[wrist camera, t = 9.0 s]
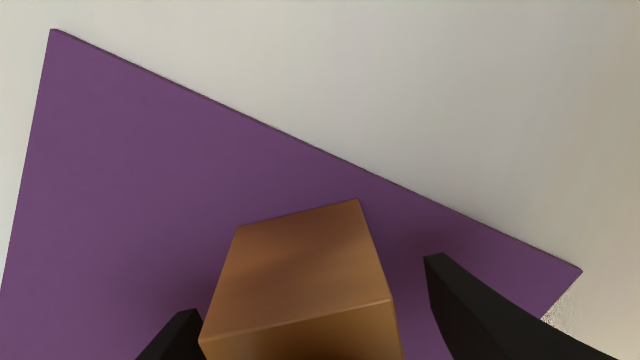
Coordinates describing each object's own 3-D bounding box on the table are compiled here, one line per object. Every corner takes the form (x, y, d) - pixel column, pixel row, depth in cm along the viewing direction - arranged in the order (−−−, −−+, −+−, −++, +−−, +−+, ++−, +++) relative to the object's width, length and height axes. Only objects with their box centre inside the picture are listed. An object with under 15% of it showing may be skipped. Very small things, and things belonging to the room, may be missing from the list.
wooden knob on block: (358, 197, 12) (454, 474, 4) (379, 294, 14) (475, 616, 6) (236, 225, 12) (125, 539, 5) (271, 318, 14) (234, 659, 6)
